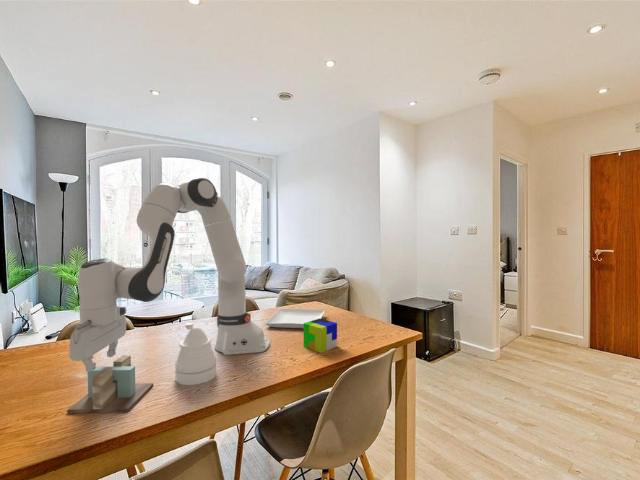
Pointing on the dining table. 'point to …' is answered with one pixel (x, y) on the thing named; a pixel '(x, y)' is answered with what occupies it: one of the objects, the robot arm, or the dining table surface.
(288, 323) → the square plate
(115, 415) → the dining table surface
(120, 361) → the stand
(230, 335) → the robot arm
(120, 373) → the green arch block
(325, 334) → the puzzle toy
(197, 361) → the honey pot
